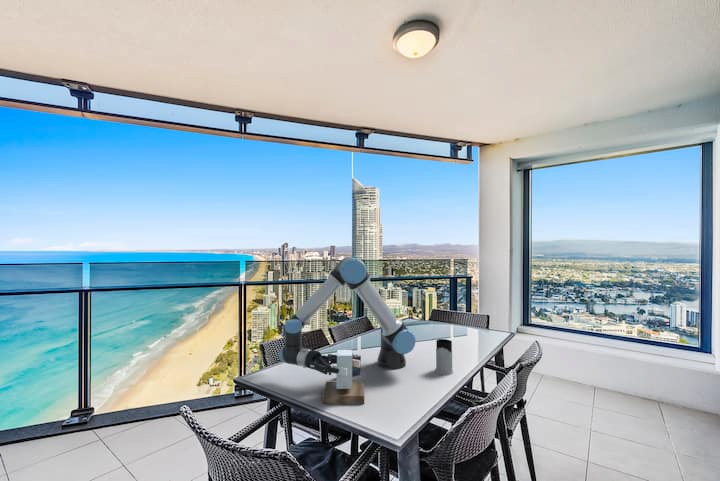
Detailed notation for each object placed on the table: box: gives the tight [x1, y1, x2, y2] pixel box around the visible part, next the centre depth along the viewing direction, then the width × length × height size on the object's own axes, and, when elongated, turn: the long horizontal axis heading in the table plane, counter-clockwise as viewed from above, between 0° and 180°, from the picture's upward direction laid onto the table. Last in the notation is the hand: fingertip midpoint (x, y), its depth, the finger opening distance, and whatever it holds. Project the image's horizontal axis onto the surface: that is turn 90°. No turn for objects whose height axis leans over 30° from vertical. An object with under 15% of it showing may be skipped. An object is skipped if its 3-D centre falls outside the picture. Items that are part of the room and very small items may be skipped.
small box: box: [335, 349, 353, 389], centre depth 126 cm, size 8×6×13 cm
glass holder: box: [435, 338, 454, 376], centre depth 157 cm, size 9×14×15 cm, turn 152°
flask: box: [352, 352, 362, 378], centre depth 148 cm, size 9×3×11 cm, turn 121°
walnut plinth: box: [322, 381, 365, 405], centre depth 126 cm, size 16×14×3 cm
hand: (353, 367), depth 124 cm, fingers open, 10 cm apart
